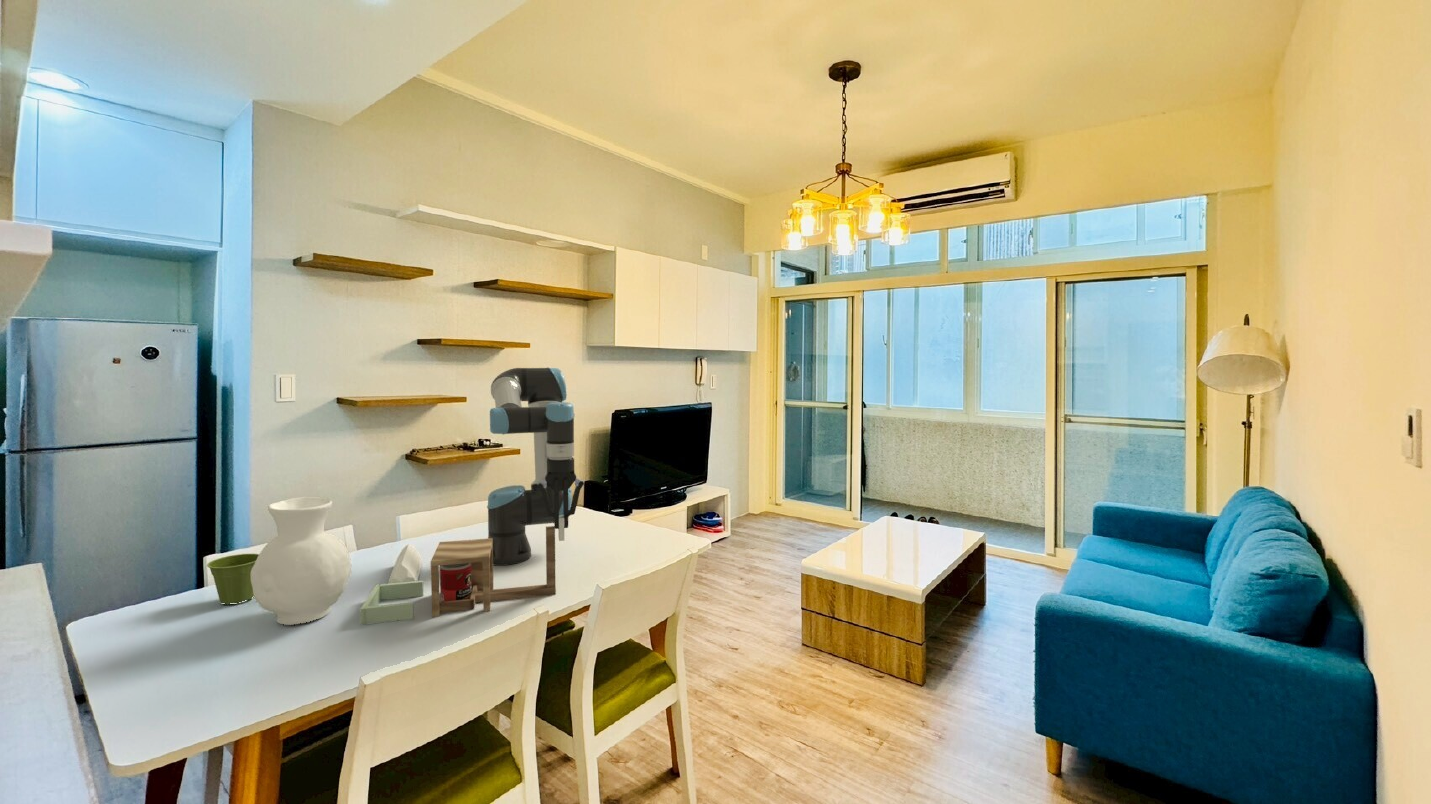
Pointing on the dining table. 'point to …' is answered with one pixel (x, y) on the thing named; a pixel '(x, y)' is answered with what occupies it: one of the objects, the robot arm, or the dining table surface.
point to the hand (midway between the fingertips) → (561, 539)
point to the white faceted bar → (406, 566)
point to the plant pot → (233, 577)
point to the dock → (390, 611)
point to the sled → (517, 591)
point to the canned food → (455, 582)
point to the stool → (464, 552)
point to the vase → (300, 563)
